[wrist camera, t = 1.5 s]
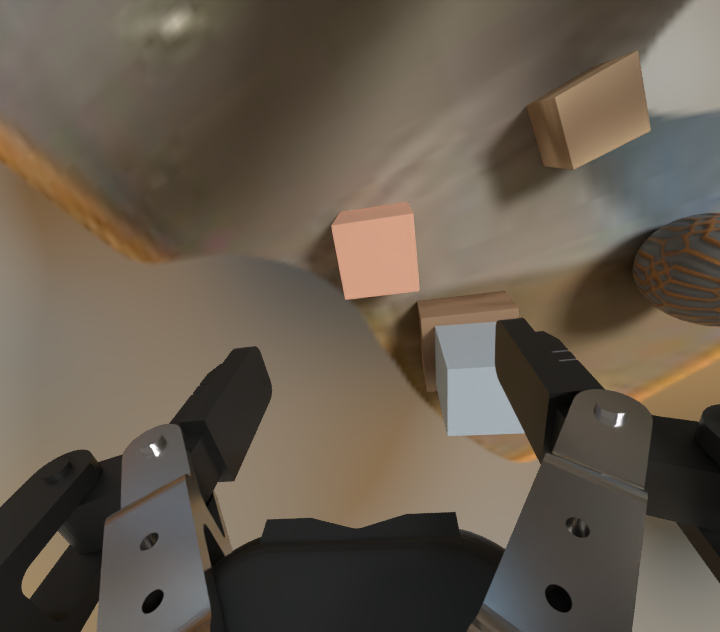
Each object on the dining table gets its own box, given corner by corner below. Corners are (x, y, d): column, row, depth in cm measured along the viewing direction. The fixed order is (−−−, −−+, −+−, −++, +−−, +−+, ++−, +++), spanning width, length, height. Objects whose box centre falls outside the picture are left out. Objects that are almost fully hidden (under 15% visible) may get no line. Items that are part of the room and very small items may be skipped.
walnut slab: (416, 299, 28) (421, 318, 25) (503, 289, 27) (519, 308, 24) (422, 367, 31) (426, 392, 28) (500, 360, 30) (514, 385, 27)
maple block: (525, 105, 21) (554, 97, 18) (592, 67, 20) (638, 50, 16) (543, 166, 23) (573, 169, 19) (606, 133, 21) (650, 130, 18)
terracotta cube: (340, 211, 25) (331, 225, 20) (407, 201, 24) (413, 213, 20) (351, 275, 27) (345, 299, 22) (413, 266, 26) (419, 290, 22)
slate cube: (434, 326, 25) (447, 369, 20) (510, 320, 24) (543, 363, 19) (435, 384, 27) (447, 436, 22) (505, 380, 27) (532, 432, 22)
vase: (608, 301, 27) (702, 365, 19) (623, 214, 24) (743, 246, 16) (704, 290, 26) (845, 352, 18) (733, 197, 23) (918, 223, 15)
